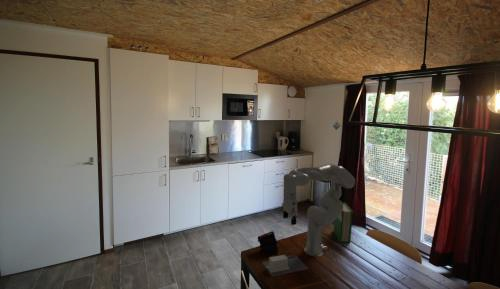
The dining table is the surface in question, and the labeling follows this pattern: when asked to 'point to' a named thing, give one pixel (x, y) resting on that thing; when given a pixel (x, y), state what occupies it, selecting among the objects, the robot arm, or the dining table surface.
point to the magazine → (268, 243)
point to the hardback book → (344, 224)
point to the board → (293, 266)
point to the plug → (279, 262)
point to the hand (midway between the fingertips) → (289, 221)
